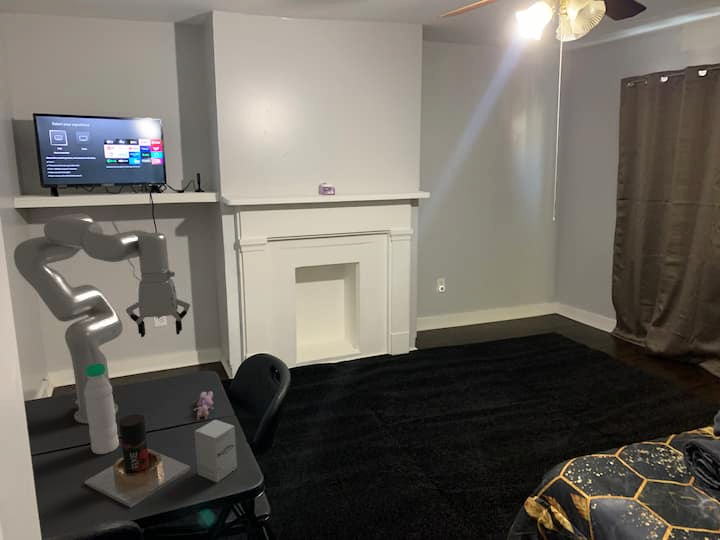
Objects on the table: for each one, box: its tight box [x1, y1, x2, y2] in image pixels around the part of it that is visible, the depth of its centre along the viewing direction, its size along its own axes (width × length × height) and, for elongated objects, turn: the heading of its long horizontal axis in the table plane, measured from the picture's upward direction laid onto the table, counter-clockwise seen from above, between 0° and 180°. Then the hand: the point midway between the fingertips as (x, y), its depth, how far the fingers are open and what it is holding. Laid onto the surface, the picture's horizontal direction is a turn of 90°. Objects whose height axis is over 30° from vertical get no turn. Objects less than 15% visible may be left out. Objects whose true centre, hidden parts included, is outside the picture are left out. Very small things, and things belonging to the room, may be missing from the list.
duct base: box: [84, 448, 191, 508], centre depth 141 cm, size 18×18×4 cm
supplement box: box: [194, 419, 238, 483], centre depth 142 cm, size 7×7×13 cm
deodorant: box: [118, 413, 150, 474], centre depth 139 cm, size 6×6×15 cm
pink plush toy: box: [193, 390, 214, 421], centre depth 176 cm, size 6×6×15 cm
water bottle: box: [84, 364, 120, 455], centre depth 152 cm, size 7×7×25 cm
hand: (160, 334), depth 158 cm, fingers open, 9 cm apart
